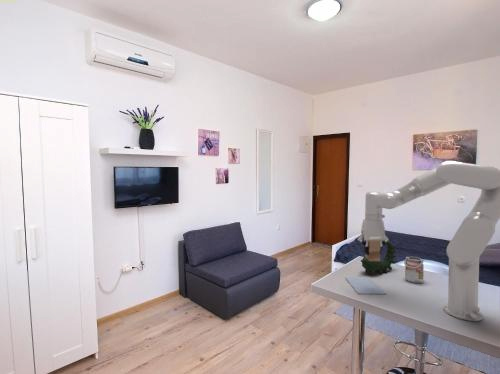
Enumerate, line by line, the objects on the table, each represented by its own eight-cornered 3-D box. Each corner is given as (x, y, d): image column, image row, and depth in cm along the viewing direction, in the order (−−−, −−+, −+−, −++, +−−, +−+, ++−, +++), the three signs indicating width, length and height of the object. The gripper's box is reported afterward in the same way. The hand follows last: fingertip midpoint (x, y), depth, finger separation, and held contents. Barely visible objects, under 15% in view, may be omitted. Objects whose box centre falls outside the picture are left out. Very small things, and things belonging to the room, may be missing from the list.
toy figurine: (384, 269, 165) (353, 272, 155) (386, 238, 164) (355, 239, 155) (398, 274, 156) (366, 278, 146) (400, 242, 156) (368, 243, 146)
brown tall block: (380, 261, 130) (380, 236, 129) (369, 261, 130) (370, 236, 129) (375, 257, 135) (375, 234, 134) (365, 257, 135) (365, 234, 134)
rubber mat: (386, 294, 128) (386, 292, 128) (358, 294, 128) (358, 293, 128) (369, 278, 148) (369, 276, 148) (345, 278, 148) (345, 277, 148)
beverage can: (419, 286, 136) (419, 262, 136) (401, 281, 143) (401, 258, 142) (426, 281, 142) (426, 258, 142) (408, 276, 149) (408, 255, 148)
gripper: (387, 216, 135) (386, 251, 136) (353, 216, 135) (352, 251, 136) (395, 218, 127) (394, 256, 128) (358, 218, 128) (358, 256, 129)
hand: (372, 253), depth 132 cm, fingers closed on brown tall block, 5 cm apart
